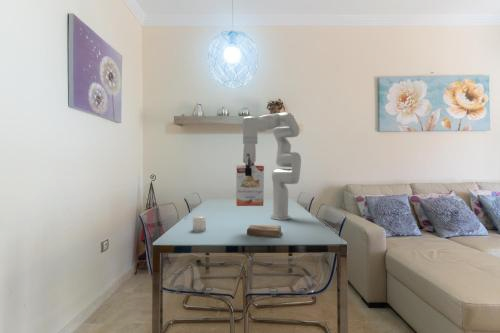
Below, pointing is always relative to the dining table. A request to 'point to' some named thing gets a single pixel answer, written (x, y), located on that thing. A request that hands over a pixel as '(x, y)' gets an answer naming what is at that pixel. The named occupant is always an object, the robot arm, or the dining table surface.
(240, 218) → the dining table surface
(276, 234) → the plinth
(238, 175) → the cracker box
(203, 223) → the white small block
